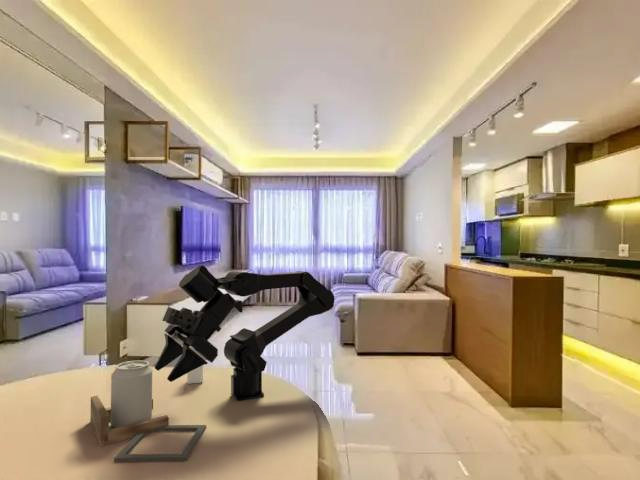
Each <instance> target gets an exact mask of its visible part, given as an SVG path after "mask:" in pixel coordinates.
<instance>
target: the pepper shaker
mask: <svg viewBox="0 0 640 480" xmlns="http://www.w3.org/2000/svg"><path fill="white" fill-rule="evenodd" d="M190 347H191V346H190ZM190 347H189V348H190ZM204 365H205V364H204ZM204 365H202V366H200V367H198V368H196V369H194V370H192V371H190V372H188V373H187V374H186V375H187V376H186V383H187V384H189V385H191V384H192V383H194V384H202V383H203V382H204V379H205V378H204V377H205V376H204V374H205V373H204V372H205V371H204V370H205V369H204V368H205V367H204ZM201 382H202V383H201ZM192 385H193V384H192Z"/></svg>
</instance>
